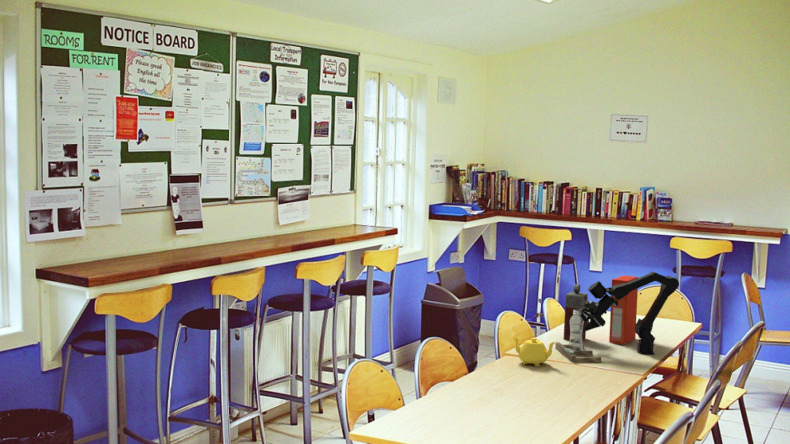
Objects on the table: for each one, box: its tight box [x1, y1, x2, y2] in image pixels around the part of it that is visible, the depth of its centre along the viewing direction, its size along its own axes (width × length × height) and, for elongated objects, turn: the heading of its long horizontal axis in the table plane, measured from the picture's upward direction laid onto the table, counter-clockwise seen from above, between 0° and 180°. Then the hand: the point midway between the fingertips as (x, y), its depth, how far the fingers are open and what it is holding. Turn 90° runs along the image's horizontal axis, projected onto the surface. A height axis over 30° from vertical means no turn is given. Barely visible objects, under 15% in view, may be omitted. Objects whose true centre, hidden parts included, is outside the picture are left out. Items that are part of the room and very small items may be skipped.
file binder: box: [608, 275, 639, 346], centre depth 393 cm, size 8×17×32 cm, turn 146°
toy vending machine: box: [563, 283, 590, 342], centre depth 393 cm, size 9×11×28 cm
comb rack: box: [554, 341, 602, 363], centre depth 362 cm, size 14×24×4 cm, turn 5°
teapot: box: [512, 335, 557, 367], centre depth 346 cm, size 20×15×12 cm
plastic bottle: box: [568, 310, 584, 351], centre depth 368 cm, size 6×7×20 cm
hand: (579, 328), depth 368 cm, fingers open, 9 cm apart
